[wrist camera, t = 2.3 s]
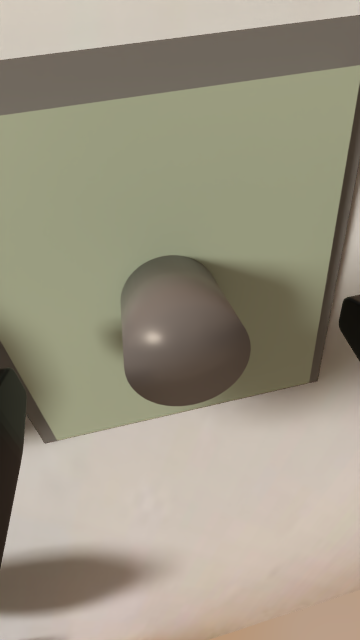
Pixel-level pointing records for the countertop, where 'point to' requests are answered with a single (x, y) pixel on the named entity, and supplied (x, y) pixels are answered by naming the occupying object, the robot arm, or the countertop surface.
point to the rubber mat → (187, 73)
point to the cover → (170, 245)
